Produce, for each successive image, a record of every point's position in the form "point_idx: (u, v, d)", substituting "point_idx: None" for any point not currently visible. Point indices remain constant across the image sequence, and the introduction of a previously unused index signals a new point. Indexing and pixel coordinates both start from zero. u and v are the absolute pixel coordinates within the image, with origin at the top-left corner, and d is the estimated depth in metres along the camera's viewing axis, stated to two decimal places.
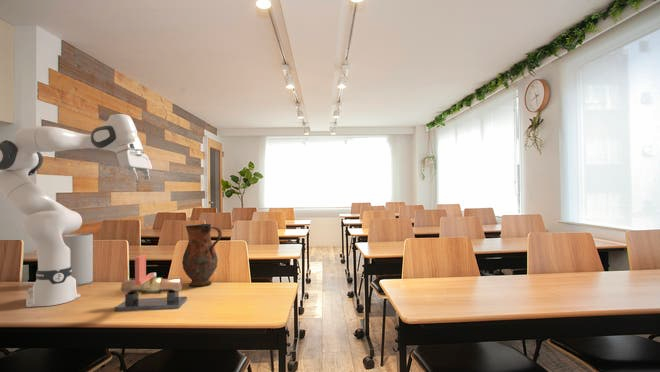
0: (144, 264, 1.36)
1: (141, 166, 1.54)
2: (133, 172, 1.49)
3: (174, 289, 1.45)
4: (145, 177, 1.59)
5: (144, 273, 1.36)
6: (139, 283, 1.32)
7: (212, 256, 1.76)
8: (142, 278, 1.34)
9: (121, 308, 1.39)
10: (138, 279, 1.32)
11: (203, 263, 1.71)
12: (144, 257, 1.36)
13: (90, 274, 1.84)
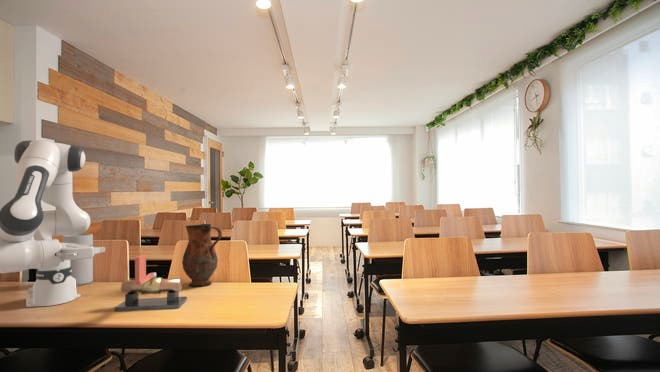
0: (144, 264, 1.36)
1: None
2: None
3: (174, 289, 1.45)
4: None
5: (144, 273, 1.36)
6: (139, 283, 1.32)
7: (212, 256, 1.76)
8: (142, 278, 1.34)
9: (121, 308, 1.39)
10: (138, 279, 1.32)
11: (203, 263, 1.71)
12: (144, 257, 1.36)
13: (90, 274, 1.84)
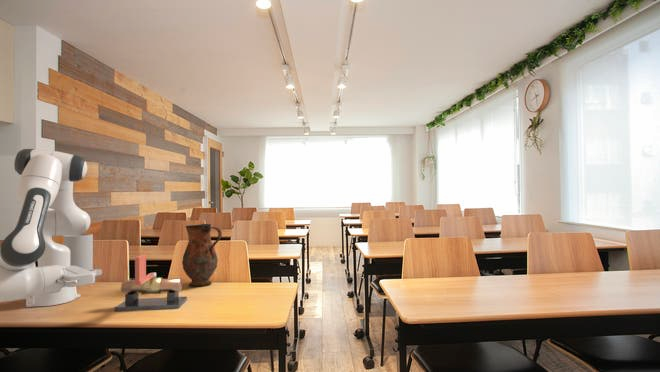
0: (144, 264, 1.36)
1: None
2: None
3: (174, 289, 1.45)
4: None
5: (144, 273, 1.36)
6: (139, 283, 1.32)
7: (212, 256, 1.76)
8: (142, 278, 1.34)
9: (121, 308, 1.39)
10: (138, 279, 1.32)
11: (203, 263, 1.71)
12: (144, 257, 1.36)
13: None
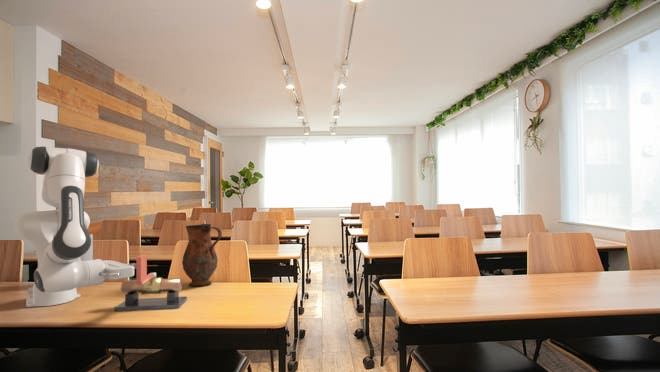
0: (145, 264, 1.36)
1: None
2: None
3: (174, 289, 1.45)
4: None
5: (145, 273, 1.36)
6: (140, 283, 1.32)
7: (212, 256, 1.76)
8: (143, 278, 1.34)
9: (121, 308, 1.39)
10: (139, 279, 1.32)
11: (203, 263, 1.71)
12: (145, 257, 1.36)
13: None
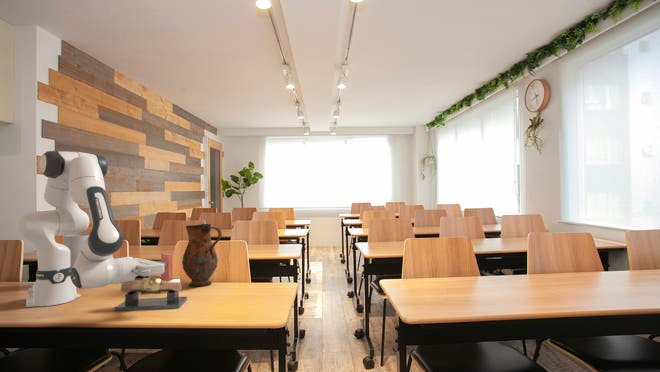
0: None
1: None
2: None
3: (174, 289, 1.45)
4: None
5: None
6: (171, 279, 1.38)
7: (212, 256, 1.76)
8: None
9: (121, 308, 1.39)
10: (171, 275, 1.37)
11: (203, 263, 1.71)
12: None
13: None
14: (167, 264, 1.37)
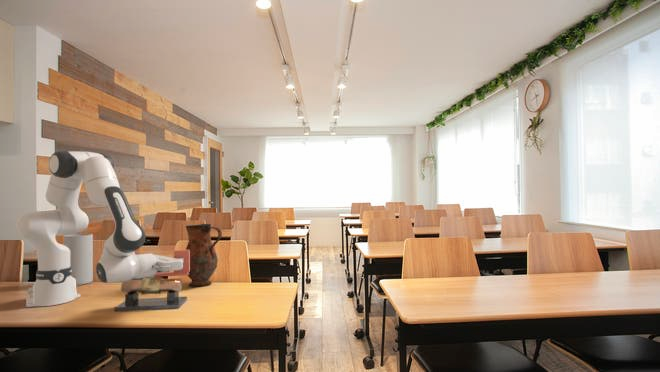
0: None
1: None
2: None
3: (174, 289, 1.45)
4: None
5: None
6: (188, 273, 1.48)
7: (212, 256, 1.76)
8: None
9: (121, 308, 1.39)
10: (189, 269, 1.48)
11: (203, 263, 1.71)
12: None
13: (90, 274, 1.84)
14: (186, 259, 1.47)
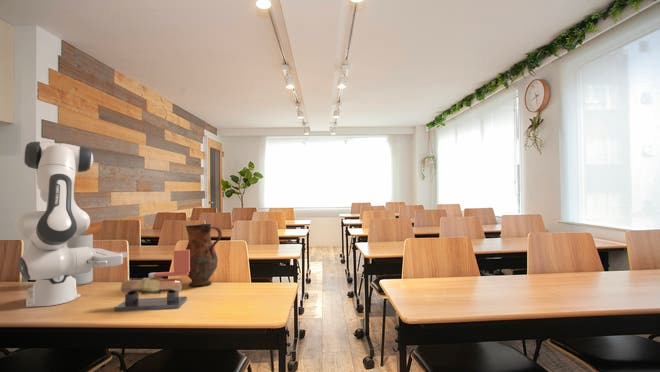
0: None
1: None
2: None
3: (174, 289, 1.45)
4: None
5: None
6: (188, 273, 1.48)
7: (212, 256, 1.76)
8: None
9: (121, 308, 1.39)
10: (189, 269, 1.48)
11: (203, 263, 1.71)
12: None
13: (90, 274, 1.84)
14: (186, 259, 1.47)
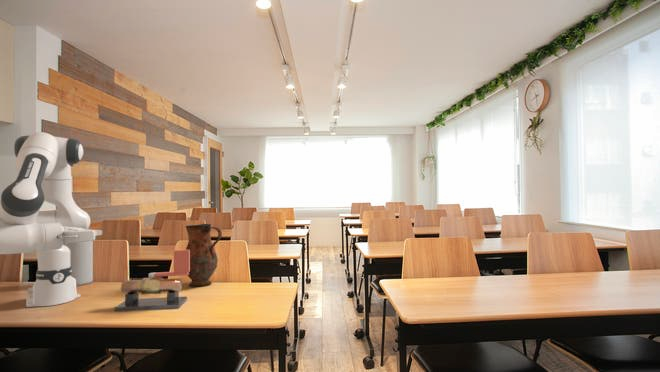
0: None
1: None
2: None
3: (174, 289, 1.45)
4: None
5: None
6: (188, 273, 1.48)
7: (212, 256, 1.76)
8: None
9: (121, 308, 1.39)
10: (189, 269, 1.48)
11: (203, 263, 1.71)
12: None
13: (90, 274, 1.84)
14: (186, 259, 1.47)
